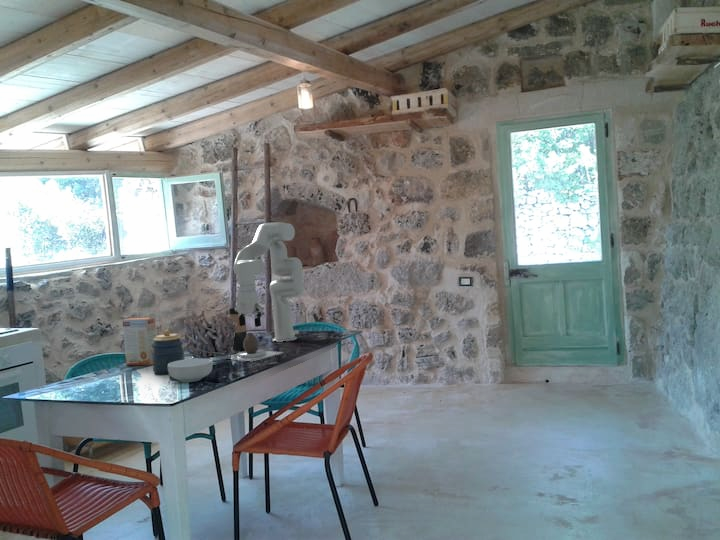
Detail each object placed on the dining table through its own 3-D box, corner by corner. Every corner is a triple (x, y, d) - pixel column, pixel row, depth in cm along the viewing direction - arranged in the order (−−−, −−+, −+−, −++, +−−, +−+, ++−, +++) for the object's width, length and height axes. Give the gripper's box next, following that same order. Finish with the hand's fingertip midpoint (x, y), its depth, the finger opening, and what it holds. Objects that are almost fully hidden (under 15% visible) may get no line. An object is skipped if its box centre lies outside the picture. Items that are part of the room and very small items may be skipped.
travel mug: (249, 347, 319) (246, 307, 318) (245, 350, 311) (242, 308, 310) (234, 348, 319) (231, 307, 318) (229, 350, 312) (226, 309, 311)
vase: (243, 354, 289) (241, 334, 288) (244, 351, 296) (243, 332, 295) (258, 353, 289) (257, 333, 289) (259, 350, 296) (258, 331, 296)
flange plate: (251, 351, 306) (251, 347, 306) (283, 353, 295) (282, 349, 295) (220, 359, 290) (219, 355, 290) (252, 361, 278) (251, 357, 278)
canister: (174, 375, 260) (171, 332, 260) (147, 375, 264) (143, 332, 263) (191, 368, 273) (188, 327, 272) (165, 368, 277) (162, 327, 276)
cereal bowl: (190, 386, 237) (188, 367, 237) (159, 383, 246) (158, 365, 246) (222, 376, 252) (221, 358, 251) (192, 374, 260) (191, 356, 260)
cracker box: (159, 363, 290) (155, 317, 289) (149, 366, 285) (145, 319, 284) (135, 362, 296) (131, 317, 295) (125, 365, 291) (121, 319, 290)
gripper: (227, 289, 293) (230, 326, 294) (255, 289, 283) (258, 328, 284) (239, 287, 299) (242, 323, 300) (266, 287, 289) (270, 325, 290)
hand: (250, 325), depth 292 cm, fingers open, 9 cm apart
